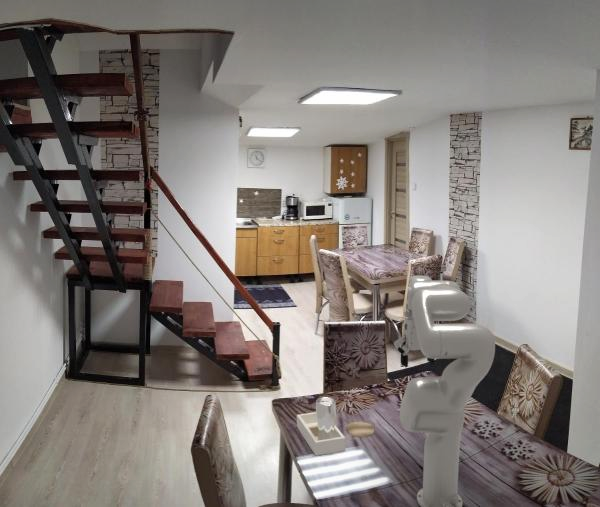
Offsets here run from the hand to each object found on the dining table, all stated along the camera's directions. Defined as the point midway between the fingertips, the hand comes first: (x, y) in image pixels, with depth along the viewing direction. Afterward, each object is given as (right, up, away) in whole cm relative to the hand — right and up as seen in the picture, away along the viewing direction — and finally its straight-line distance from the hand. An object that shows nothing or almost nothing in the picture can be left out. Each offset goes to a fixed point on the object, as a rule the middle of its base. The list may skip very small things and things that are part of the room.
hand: (417, 364), depth 178 cm
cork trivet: (-17, -28, +18) cm, 37 cm away
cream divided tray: (-32, -29, +13) cm, 45 cm away
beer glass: (-30, -29, +8) cm, 42 cm away
